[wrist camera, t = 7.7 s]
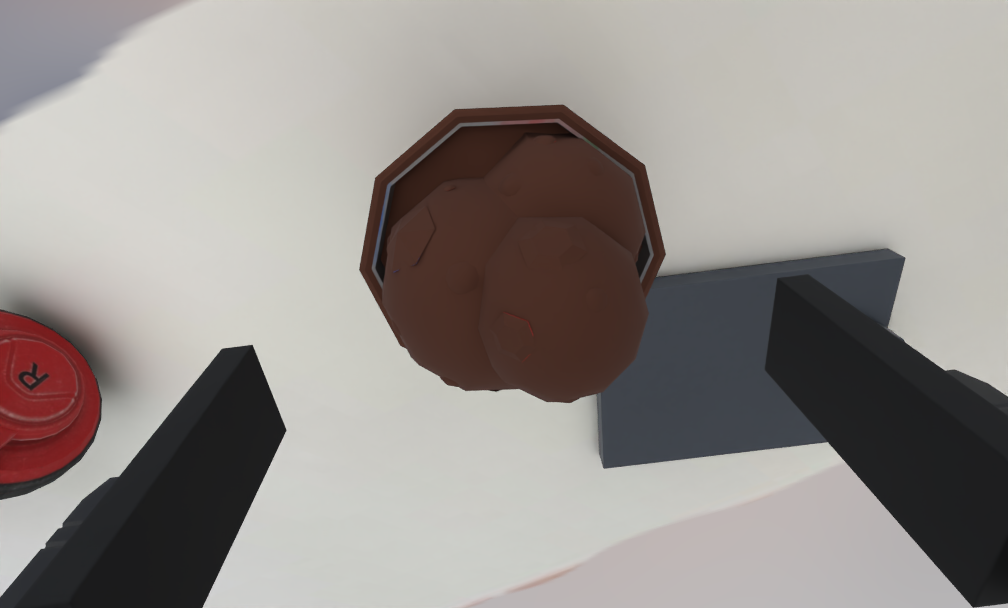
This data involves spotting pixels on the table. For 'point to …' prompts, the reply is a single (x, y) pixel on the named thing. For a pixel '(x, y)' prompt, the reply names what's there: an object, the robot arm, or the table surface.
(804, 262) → the scale
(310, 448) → the table surface
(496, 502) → the table surface
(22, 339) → the headphones
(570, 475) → the table surface
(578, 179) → the ice cream bowl
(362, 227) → the table surface
